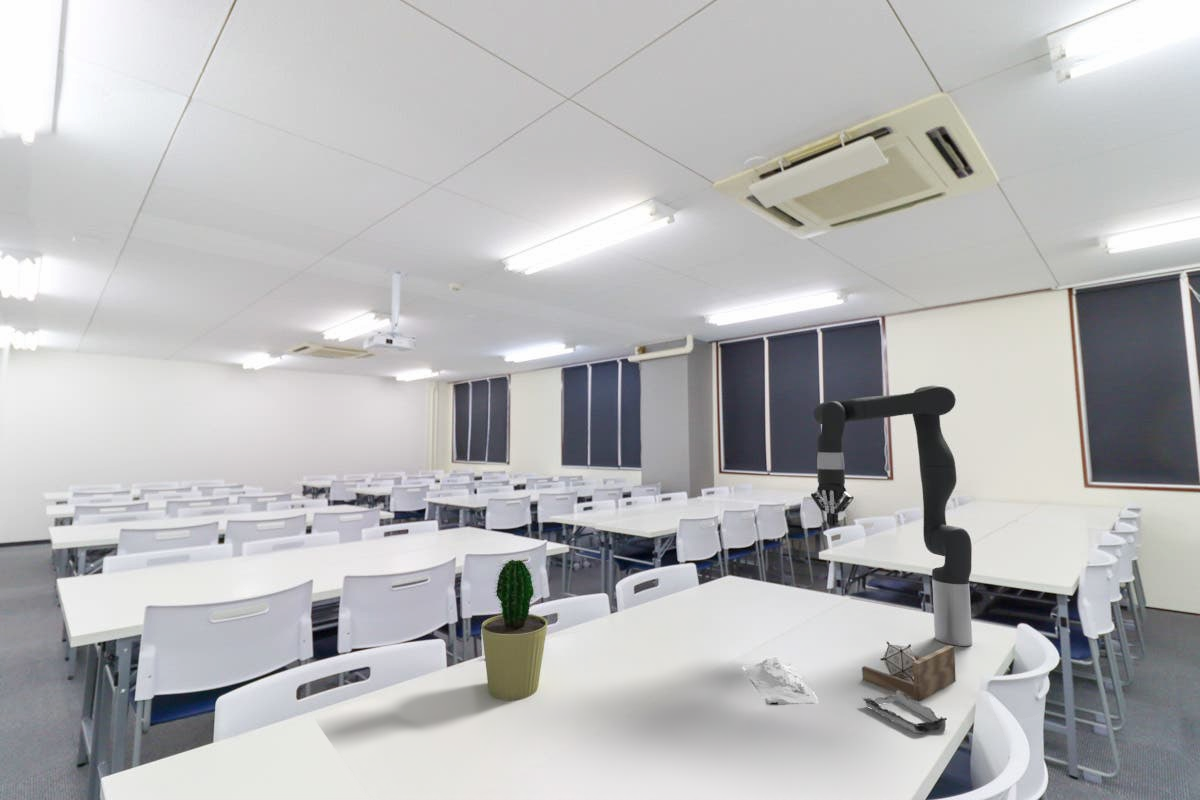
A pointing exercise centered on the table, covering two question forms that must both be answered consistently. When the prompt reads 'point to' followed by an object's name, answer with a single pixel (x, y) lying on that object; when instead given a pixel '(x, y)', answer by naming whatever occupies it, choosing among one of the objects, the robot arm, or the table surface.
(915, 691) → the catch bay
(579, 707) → the table surface
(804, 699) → the terrain model
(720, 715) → the table surface
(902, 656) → the game die
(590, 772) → the table surface
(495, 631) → the potted cactus
